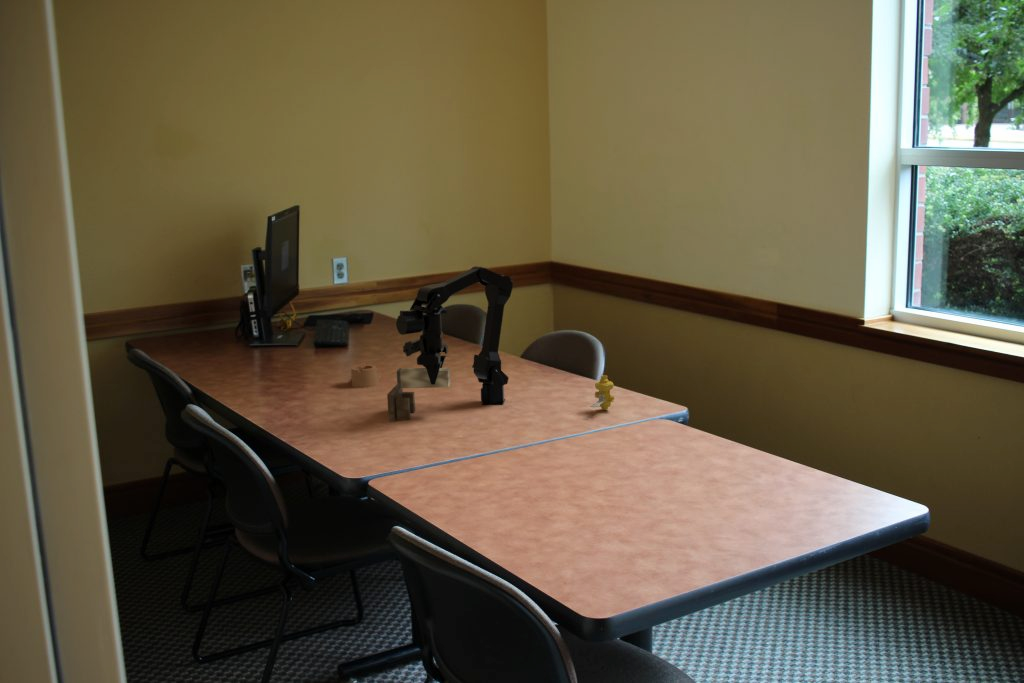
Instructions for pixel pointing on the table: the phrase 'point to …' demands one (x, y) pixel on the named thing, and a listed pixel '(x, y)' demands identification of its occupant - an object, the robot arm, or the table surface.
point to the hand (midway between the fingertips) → (434, 382)
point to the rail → (422, 378)
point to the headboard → (400, 404)
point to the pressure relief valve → (603, 393)
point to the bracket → (365, 376)
